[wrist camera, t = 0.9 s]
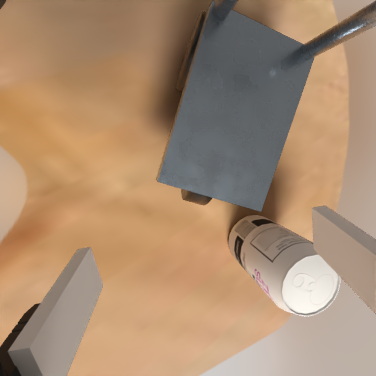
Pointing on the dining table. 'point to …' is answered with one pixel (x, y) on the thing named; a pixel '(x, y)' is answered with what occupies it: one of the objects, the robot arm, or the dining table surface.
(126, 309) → the dining table surface
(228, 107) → the trolley
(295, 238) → the supplement can
